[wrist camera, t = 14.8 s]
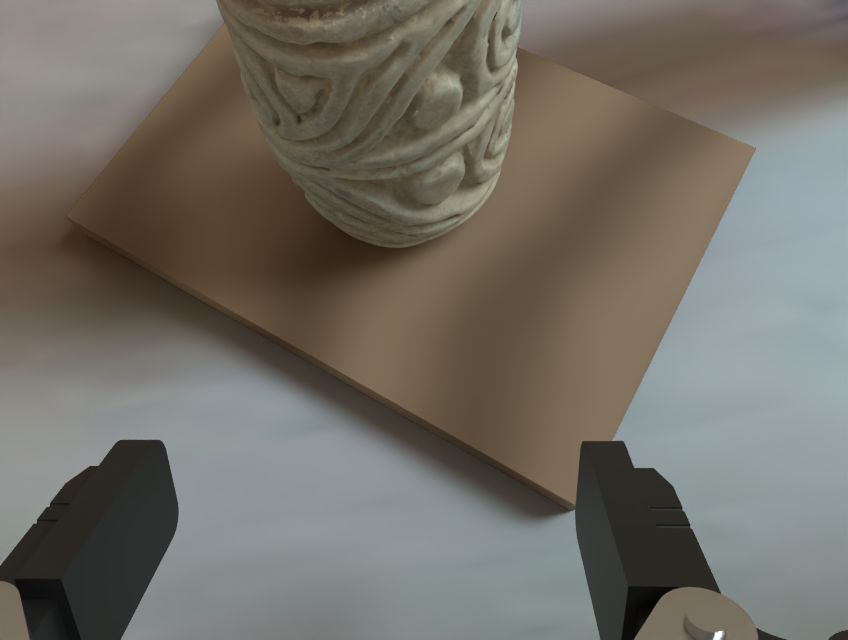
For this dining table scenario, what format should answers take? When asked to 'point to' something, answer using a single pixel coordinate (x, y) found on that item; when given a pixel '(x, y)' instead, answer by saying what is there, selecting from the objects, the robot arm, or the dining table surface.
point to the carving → (383, 105)
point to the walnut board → (442, 259)
